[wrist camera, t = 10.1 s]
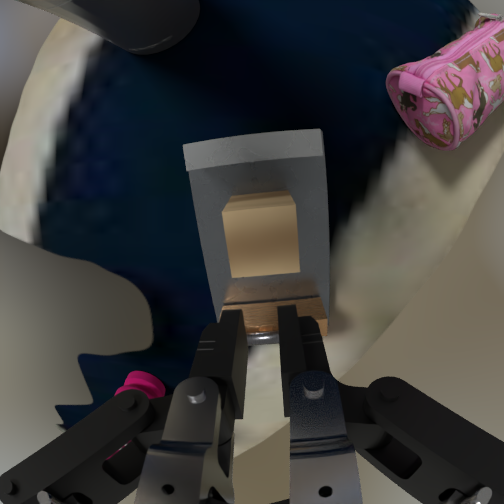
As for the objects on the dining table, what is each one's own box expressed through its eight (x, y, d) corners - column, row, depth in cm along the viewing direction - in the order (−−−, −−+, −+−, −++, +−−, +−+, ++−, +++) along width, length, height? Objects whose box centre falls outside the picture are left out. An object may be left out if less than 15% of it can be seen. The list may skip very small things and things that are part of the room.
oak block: (231, 195, 24) (221, 212, 19) (288, 190, 24) (295, 204, 18) (238, 248, 26) (231, 278, 21) (292, 243, 26) (299, 272, 20)
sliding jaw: (222, 305, 28) (215, 336, 24) (320, 297, 27) (330, 326, 23) (225, 321, 29) (219, 352, 24) (320, 313, 28) (329, 343, 24)
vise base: (189, 146, 24) (170, 147, 19) (319, 131, 23) (333, 128, 18) (222, 326, 32) (215, 359, 26) (326, 317, 31) (336, 349, 25)
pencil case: (465, 17, 15) (506, 0, 7) (504, 77, 18) (549, 74, 9) (364, 85, 21) (406, 64, 13) (417, 159, 24) (470, 171, 15)
